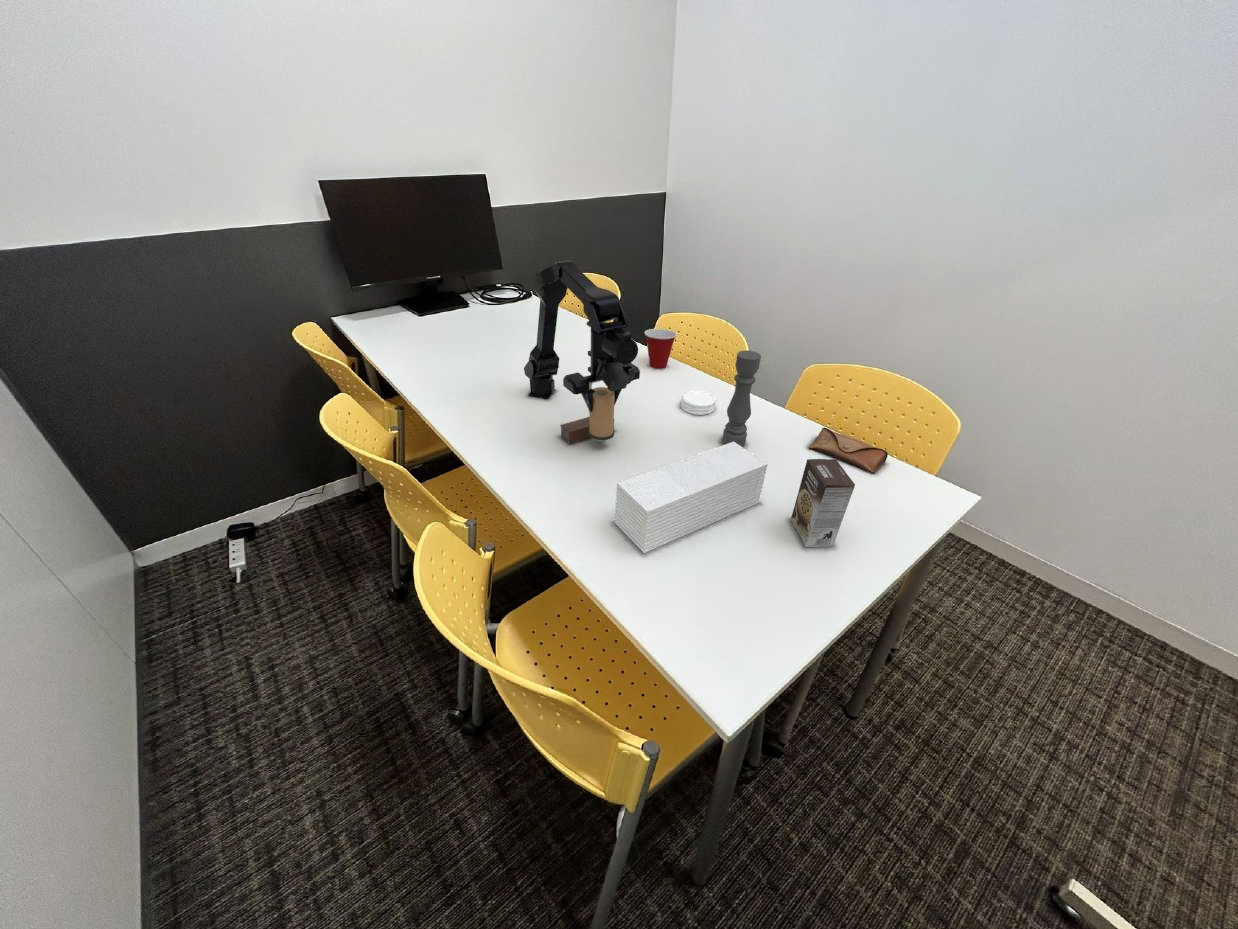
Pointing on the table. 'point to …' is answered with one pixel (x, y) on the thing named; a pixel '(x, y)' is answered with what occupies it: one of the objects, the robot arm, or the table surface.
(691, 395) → the coaster
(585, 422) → the walnut block
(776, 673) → the table surface
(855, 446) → the sunglasses case
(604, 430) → the tan cylinder
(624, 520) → the stack of papers
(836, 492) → the brown food box
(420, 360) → the table surface
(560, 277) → the robot arm
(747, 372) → the candle holder
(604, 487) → the table surface
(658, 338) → the plastic cup
